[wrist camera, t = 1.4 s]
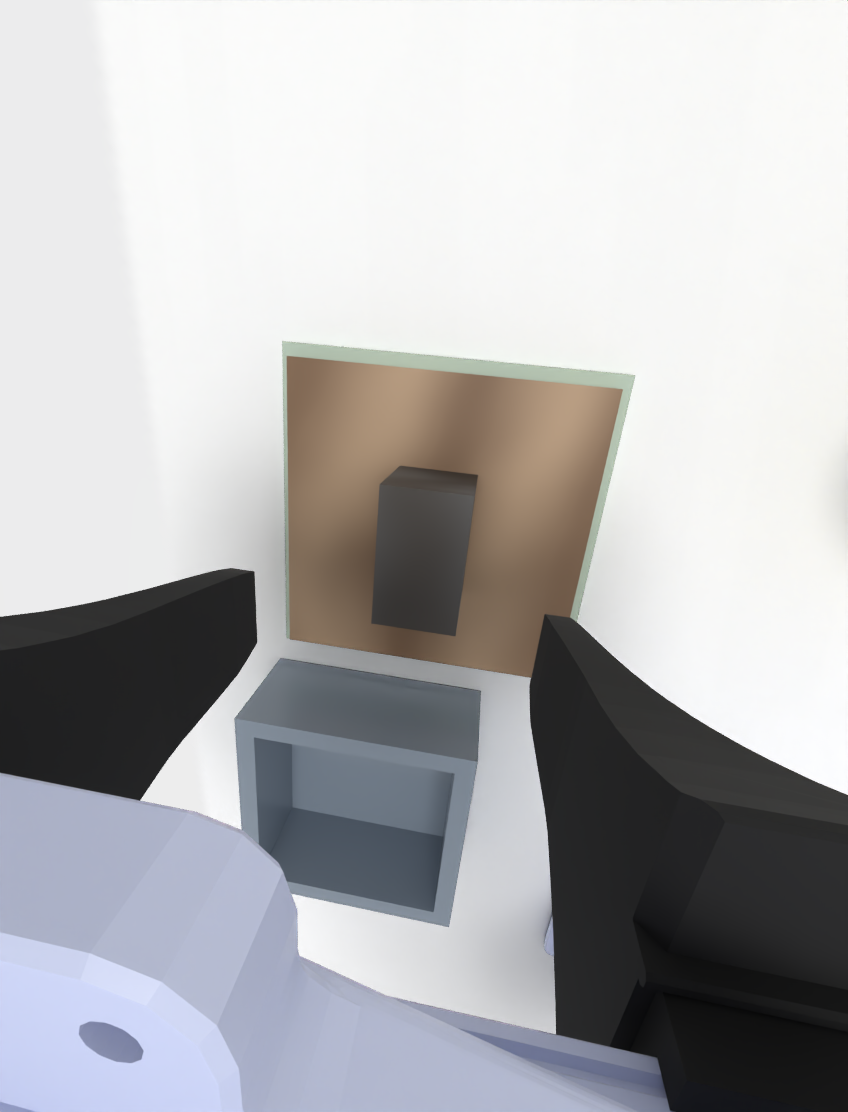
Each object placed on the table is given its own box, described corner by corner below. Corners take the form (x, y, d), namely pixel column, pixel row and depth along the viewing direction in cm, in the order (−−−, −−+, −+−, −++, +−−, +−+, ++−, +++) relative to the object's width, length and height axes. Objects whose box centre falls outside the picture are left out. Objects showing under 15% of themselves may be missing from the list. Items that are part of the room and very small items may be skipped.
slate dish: (480, 691, 23) (477, 761, 18) (456, 839, 26) (448, 927, 22) (280, 658, 24) (234, 718, 19) (283, 806, 27) (245, 883, 23)
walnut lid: (617, 388, 17) (655, 391, 13) (553, 670, 21) (566, 738, 17) (295, 356, 18) (238, 350, 14) (296, 630, 22) (253, 685, 18)
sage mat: (632, 375, 17) (635, 375, 17) (561, 676, 22) (562, 681, 21) (286, 341, 18) (282, 341, 18) (289, 633, 23) (286, 637, 23)
